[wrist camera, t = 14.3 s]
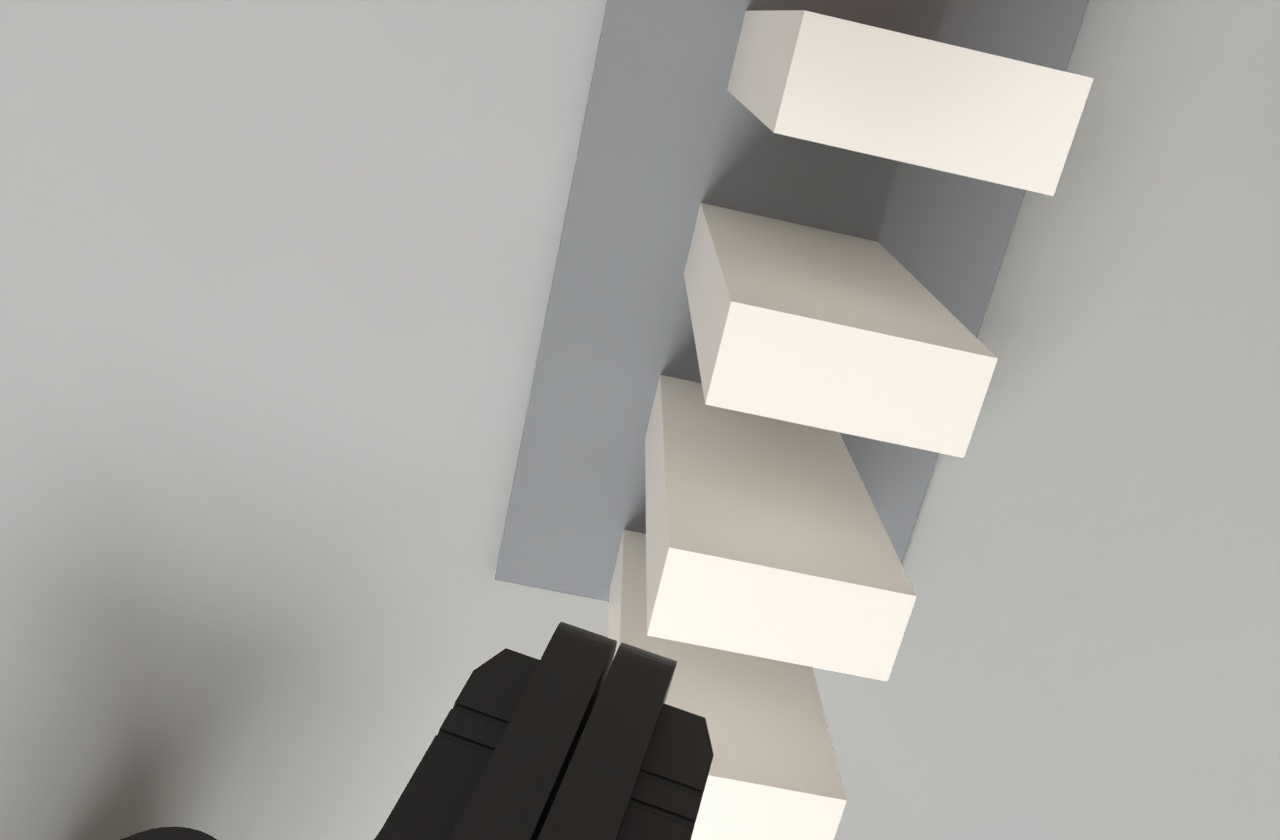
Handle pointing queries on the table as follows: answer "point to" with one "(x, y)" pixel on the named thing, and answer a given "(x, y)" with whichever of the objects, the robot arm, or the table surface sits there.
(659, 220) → the slate mat
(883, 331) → the ivory tile
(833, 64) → the ivory tile
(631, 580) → the ivory tile
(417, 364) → the table surface
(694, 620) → the ivory tile
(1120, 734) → the table surface
